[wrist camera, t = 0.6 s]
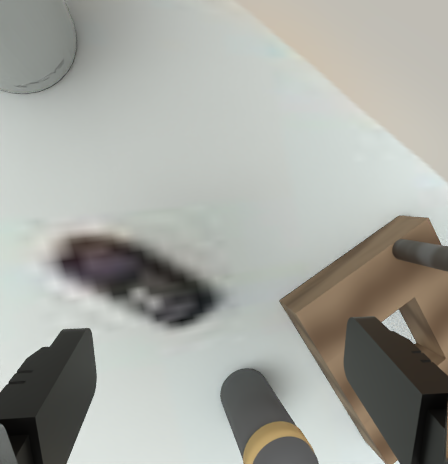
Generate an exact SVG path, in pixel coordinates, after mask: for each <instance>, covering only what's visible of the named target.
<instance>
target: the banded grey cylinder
mask: <svg viewBox="0 0 448 464" xmlns="http://www.w3.org/2000/svg"><path fill="white" fill-rule="evenodd" d="M220 396H221V402H222V404H223V407H224V410H225V412H226V415H227V418H228V421H229V423H230V426H231V429H232V431H233V434H234V437H235V439H236V442H237V445H238V447H239V450H240V453H241V456H242V458H243V463H244V464H319V463H318V460H317V457H316V455H315V453H314V450H313V448H312V447H311V445H310V444H309V442H308V441H307V439H306V438H305V436H304V435H303V433H302V432H301V430H300V429H299V428H298V427H297V426H296V425H295V423H294V422H293V420H292V419H291V417H290V416H289V414H288V413H287V411H286V410H285V408H284V406H283V405H282V403H281V402H280V400H279V399H278V397H277V396H276V394H275V393H274V391H273V390H272V388H271V387H270V385H269V384H268V382H267V381H266V379H265V378H264V376H263V375H262V374H261V373H260V372H258V371H256V370H254V369H240V370H237V371H235V372H234V373H232V374H231V375H230V376H229V377H228V378H227V379H226V380H225V382H224V383H223V385H222V388H221V395H220Z"/></svg>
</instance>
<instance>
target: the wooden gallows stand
mask: <svg viewBox="0 0 448 464" xmlns="http://www.w3.org/2000/svg"><path fill="white" fill-rule="evenodd" d="M280 303H281V304H282V306H283V308H284V309H285V311H286V313H287V314H288V316H289V317H290V319H291V321H292V322H293V324H294V326H295V327H296V329H297V331H298V332H299V334H300V335H301V337H302V339H303V340H304V342H305V344H306V345H307V347H308V349H309V350H310V352H311V353H312V355H313V357H314V358H315V360H316V362H317V363H318V365H319V367H320V368H321V370H322V371H323V373H324V375H325V376H326V378H327V380H328V381H329V383H330V385H331V386H332V388H333V389H334V391H335V393H336V394H337V396H338V398H339V399H340V401H341V402H342V404H343V406H344V407H345V409H346V411H347V412H348V414H349V416H350V417H351V419H352V420H353V422H354V424H355V425H356V427H357V429H358V430H359V432H360V434H361V435H362V437H363V438H364V440H365V441H366V443H367V444H368V445H369V446H370V447H371V448H372V449H373V450H374V451H375V453H376V454H377V455H378V456H379V457H380V458H381V459H382V460H383V461H384V463H385V464H394V463H395V462H396V461H397V460H398V459H397V458H396V456H395V455H394V453H393V452H392V450H391V448H390V447H389V445H388V444H387V442H386V440H385V439H384V437H383V436H382V434H381V433H380V431H379V429H378V428H377V426H376V425H375V423H374V422H373V420H372V418H371V417H370V415H369V414H368V412H367V410H366V409H365V407H364V406H363V404H362V403H361V401H360V399H359V398H358V396H357V395H356V393H355V392H354V390H353V388H352V387H351V385H350V384H349V382H348V380H347V378H346V375H345V371H344V362H343V361H344V349H345V339H346V328H347V322H348V319H349V318H350V317H367V316H374V317H376V318H377V319H378V320H379V321H380V322H382V321H383V320H385V319H386V318H387V317H389V316H390V315H391V314H393V313H394V312H395V311H397V310H398V309H399V310H400V312H401V314H402V316H403V318H404V320H405V321H406V323H407V325H408V327H409V329H410V331H411V333H412V335H413V337H414V338H415V340H416V342H417V343H416V344H415V346H416V347H418V348H419V349H420V350H421V353H424V354H425V355H426V356H427V357H428V358H429V359H430V360H431V362H434V363H435V364H436V365H437V366H438V367H439V368H440V369H441V370H442V371H443V372H444V373H445V374H447V375H448V246H442V245H441V243H440V241H439V239H438V237H437V235H436V232H435V230H434V228H433V226H432V224H431V222H430V220H429V218H423V217H410V216H398V217H397V218H395V219H394V220H392V221H391V222H390V223H388V224H387V225H385V226H384V227H383V228H381V229H380V230H378V231H377V232H376V233H374V234H373V235H371V236H370V237H368V238H367V239H366V240H364V241H363V242H361V243H360V244H359V245H357V246H356V247H354V248H353V249H352V250H350V251H349V252H347V253H346V254H344V255H343V256H342V257H340V258H339V259H337V260H336V261H335V262H333V263H332V264H330V265H329V266H328V267H326V268H325V269H323V270H322V271H320V272H319V273H318V274H316V275H315V276H313V277H312V278H311V279H309V280H308V281H306V282H305V283H304V284H302V285H301V286H299V287H298V288H296V289H295V290H294V291H292V292H291V293H289V294H288V295H287V296H285V297H284V298H282V299H281V300H280Z"/></svg>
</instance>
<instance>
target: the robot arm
mask: <svg viewBox="0 0 448 464" xmlns="http://www.w3.org/2000/svg"><path fill="white" fill-rule="evenodd" d="M76 39H77V37H76V31H75V26H74V23H73V20H72V18H71V15H70V13H69V10H68V8H67V5H66V3H65V0H0V90H3V91H7V92H12V93H32V92H38V91H41V90H44V89H46V88H49V87H51V86H52V85H54V84H55V83H56V82H58V81H59V80H61V78H62V77H63V76H64V75H65V74H66V73H67V72H68V70H69V68H70V66H71V64H72V62H73V60H74V56H75V52H76ZM343 362H344V371H345V375H346V378H347V380H348V382H349V384H350V385H351V387H352V388H353V390H354V392H355V393H356V395H357V396H358V398H359V399H360V401H361V403H362V404H363V406H364V407H365V409H366V410H367V412H368V414H369V415H370V417H371V418H372V420H373V422H374V423H375V425H376V426H377V428H378V429H379V431H380V433H381V434H382V436H383V437H384V439H385V440H386V442H387V444H388V445H389V447H390V448H391V450H392V452H393V453H394V455H395V456H396V458H397V459H398V461H399V463H400V464H448V375H447V374H445V373H444V372H443V371H442V370H441V369H440V368H439V367H438V366H437V365H436V364H435V363H434V362H431V360H430V359H429V358H428V357H427V356H426V355H425V354H424V353H421V350H420V349H419V348H418V347H416V346H415V345H414V344H413V343H412V342H411V341H410V340H409V339H407V338H405V337H403V336H401V335H399V334H398V333H396V332H394V331H390V330H389V329H388V328H387V327H385V326H384V325H383V324H382V323H381V322H380V321H379V320H378V319H377V318H376V317H374V316H367V317H350V318H349V319H348V322H347V328H346V339H345V349H344V361H343ZM96 378H97V376H96V365H95V356H94V347H93V338H92V332H91V330H90V329H89V328H81V329H63V330H62V331H61V332H60V333H59V335H58V336H57V338H56V339H55V340H54V342H53V343H52V345H51V346H50V347H42V348H41V349H39V350H38V351H37V352H35V353H34V354H32V355H31V356H30V357H28V358H27V359H26V360H25V361H24V363H23V364H22V365H21V367H20V368H19V369H18V370H17V373H16V374H14V376H13V377H12V378H11V379H10V381H9V384H8V385H6V386H5V387H4V388H3V390H2V391H1V392H0V464H66V463H67V461H68V458H69V456H70V453H71V451H72V448H73V446H74V443H75V441H76V438H77V436H78V433H79V431H80V428H81V426H82V423H83V421H84V419H85V416H86V414H87V411H88V409H89V406H90V404H91V401H92V399H93V396H94V393H95V388H96Z"/></svg>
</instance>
